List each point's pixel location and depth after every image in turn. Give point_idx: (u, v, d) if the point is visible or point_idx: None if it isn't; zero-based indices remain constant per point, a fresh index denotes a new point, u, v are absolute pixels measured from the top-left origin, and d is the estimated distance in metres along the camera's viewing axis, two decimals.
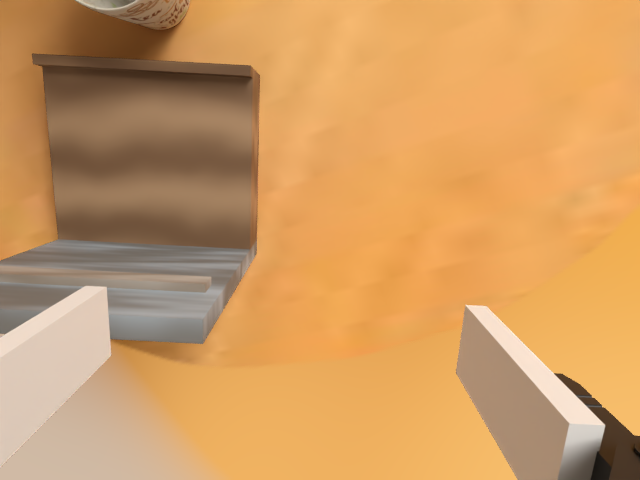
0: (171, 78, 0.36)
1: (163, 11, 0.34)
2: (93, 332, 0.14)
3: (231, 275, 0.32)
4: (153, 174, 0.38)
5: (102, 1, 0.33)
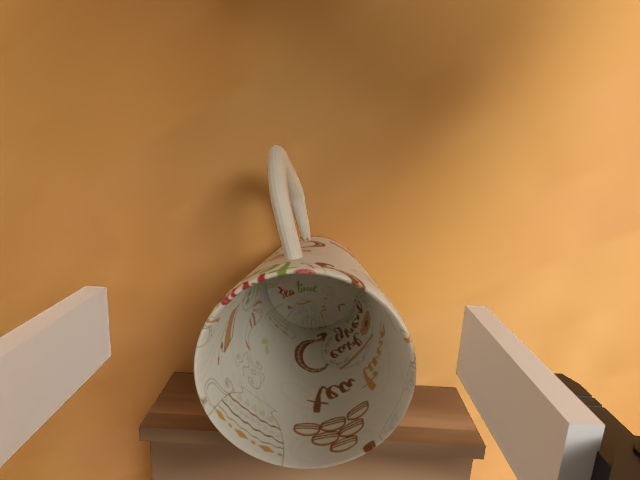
0: None
1: None
2: (93, 332, 0.14)
3: None
4: None
5: (258, 364, 0.20)
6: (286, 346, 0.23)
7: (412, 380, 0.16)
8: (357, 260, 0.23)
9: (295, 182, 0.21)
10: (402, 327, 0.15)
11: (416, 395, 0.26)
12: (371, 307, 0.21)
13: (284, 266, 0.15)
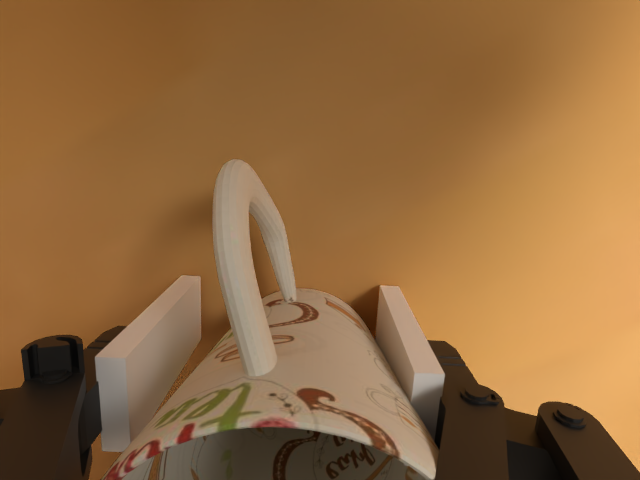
0: None
1: None
2: (193, 316, 0.16)
3: None
4: None
5: None
6: (260, 455, 0.16)
7: None
8: (366, 329, 0.15)
9: (271, 216, 0.13)
10: None
11: None
12: None
13: (235, 405, 0.07)
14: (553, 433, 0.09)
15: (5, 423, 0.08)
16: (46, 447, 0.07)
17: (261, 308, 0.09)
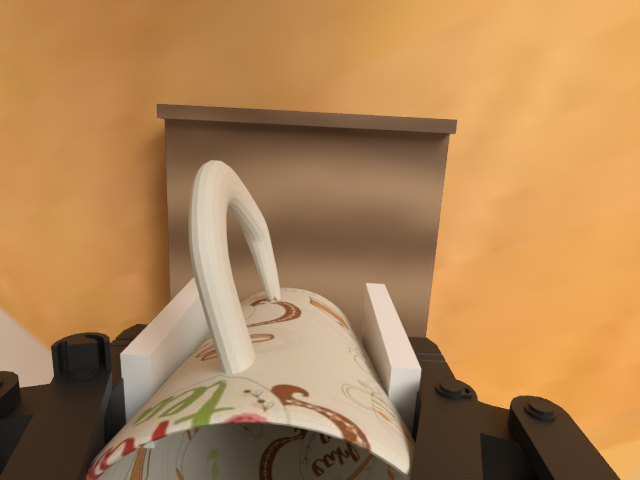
0: (338, 134, 0.27)
1: None
2: None
3: None
4: (304, 258, 0.28)
5: None
6: (247, 454, 0.16)
7: None
8: (350, 327, 0.15)
9: (253, 216, 0.13)
10: None
11: None
12: None
13: (209, 402, 0.08)
14: (525, 427, 0.09)
15: (35, 418, 0.08)
16: (73, 444, 0.08)
17: (237, 307, 0.09)
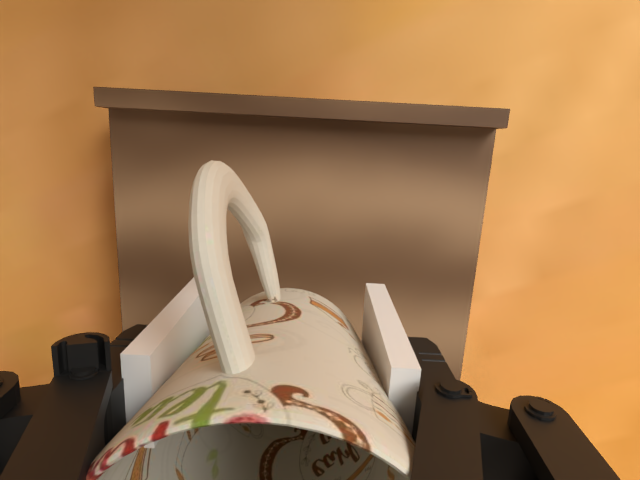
0: (345, 129, 0.20)
1: None
2: None
3: None
4: None
5: None
6: (247, 454, 0.16)
7: None
8: (350, 327, 0.15)
9: (253, 216, 0.13)
10: None
11: None
12: None
13: (209, 403, 0.08)
14: (525, 427, 0.09)
15: (35, 418, 0.08)
16: (73, 444, 0.08)
17: (237, 307, 0.09)
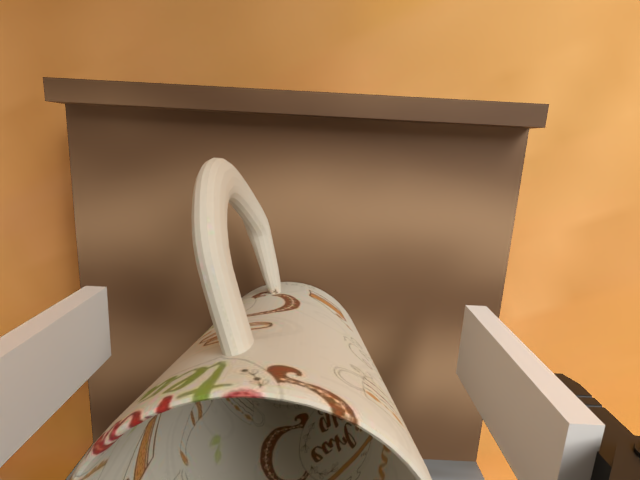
0: (349, 129, 0.16)
1: None
2: (93, 332, 0.14)
3: None
4: None
5: None
6: (249, 441, 0.16)
7: None
8: (348, 319, 0.16)
9: (254, 212, 0.14)
10: None
11: None
12: None
13: (210, 380, 0.08)
14: None
15: None
16: None
17: (237, 294, 0.10)
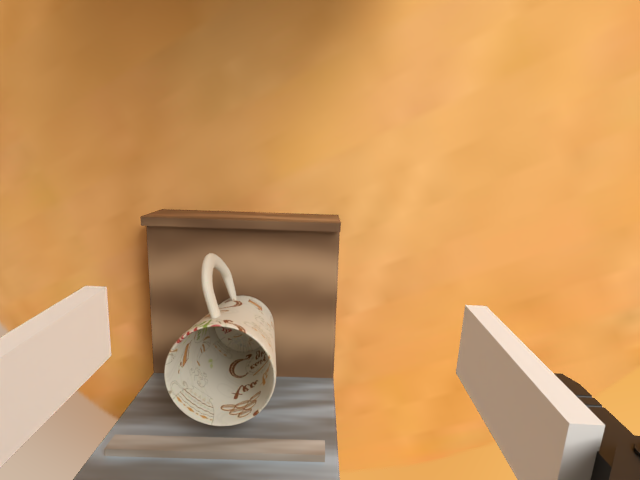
0: (264, 231, 0.39)
1: None
2: (93, 332, 0.14)
3: (335, 428, 0.34)
4: None
5: (204, 374, 0.36)
6: (224, 363, 0.39)
7: (273, 377, 0.31)
8: (264, 310, 0.38)
9: (224, 269, 0.37)
10: (265, 351, 0.31)
11: (311, 215, 0.42)
12: None
13: (207, 323, 0.31)
14: None
15: None
16: None
17: (215, 300, 0.32)
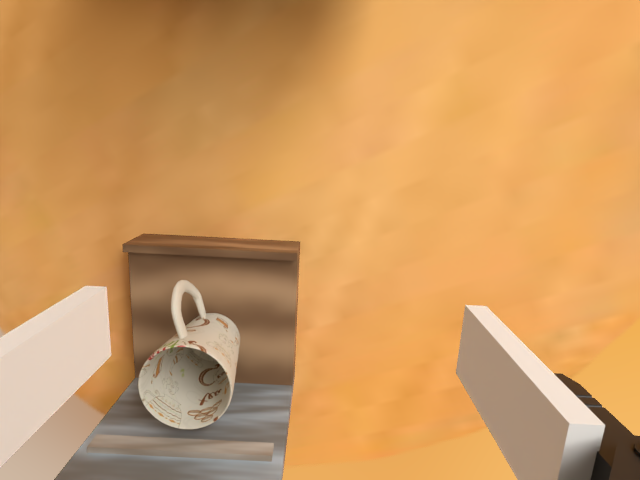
0: (232, 258, 0.45)
1: None
2: (93, 332, 0.14)
3: (285, 432, 0.40)
4: None
5: (176, 382, 0.42)
6: (195, 372, 0.45)
7: (230, 389, 0.37)
8: (230, 327, 0.44)
9: (194, 292, 0.42)
10: (223, 368, 0.36)
11: (275, 242, 0.47)
12: None
13: (174, 343, 0.36)
14: None
15: None
16: None
17: (182, 323, 0.38)
